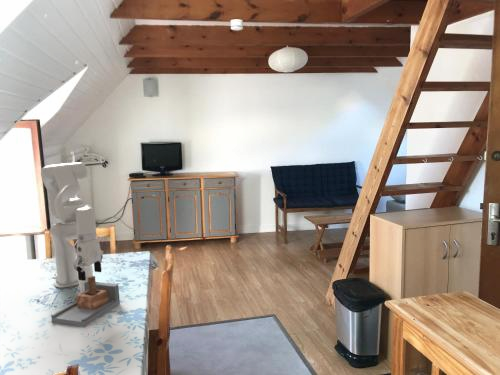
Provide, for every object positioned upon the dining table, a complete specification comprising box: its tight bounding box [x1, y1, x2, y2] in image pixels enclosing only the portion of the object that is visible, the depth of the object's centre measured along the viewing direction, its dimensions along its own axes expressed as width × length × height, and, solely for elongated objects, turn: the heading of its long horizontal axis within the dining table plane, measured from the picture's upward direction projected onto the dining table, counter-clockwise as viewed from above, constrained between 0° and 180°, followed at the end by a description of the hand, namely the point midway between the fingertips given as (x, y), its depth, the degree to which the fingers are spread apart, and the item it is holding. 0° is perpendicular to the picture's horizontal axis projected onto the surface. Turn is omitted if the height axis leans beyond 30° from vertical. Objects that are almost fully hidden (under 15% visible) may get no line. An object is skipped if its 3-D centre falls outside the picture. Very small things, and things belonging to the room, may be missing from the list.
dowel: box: [88, 275, 97, 295], centre depth 175 cm, size 3×3×12 cm
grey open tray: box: [50, 281, 121, 328], centre depth 172 cm, size 16×22×9 cm
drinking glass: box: [77, 264, 94, 294], centre depth 190 cm, size 7×7×15 cm
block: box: [76, 288, 109, 309], centre depth 176 cm, size 9×9×5 cm
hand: (90, 275), depth 175 cm, fingers open, 9 cm apart
